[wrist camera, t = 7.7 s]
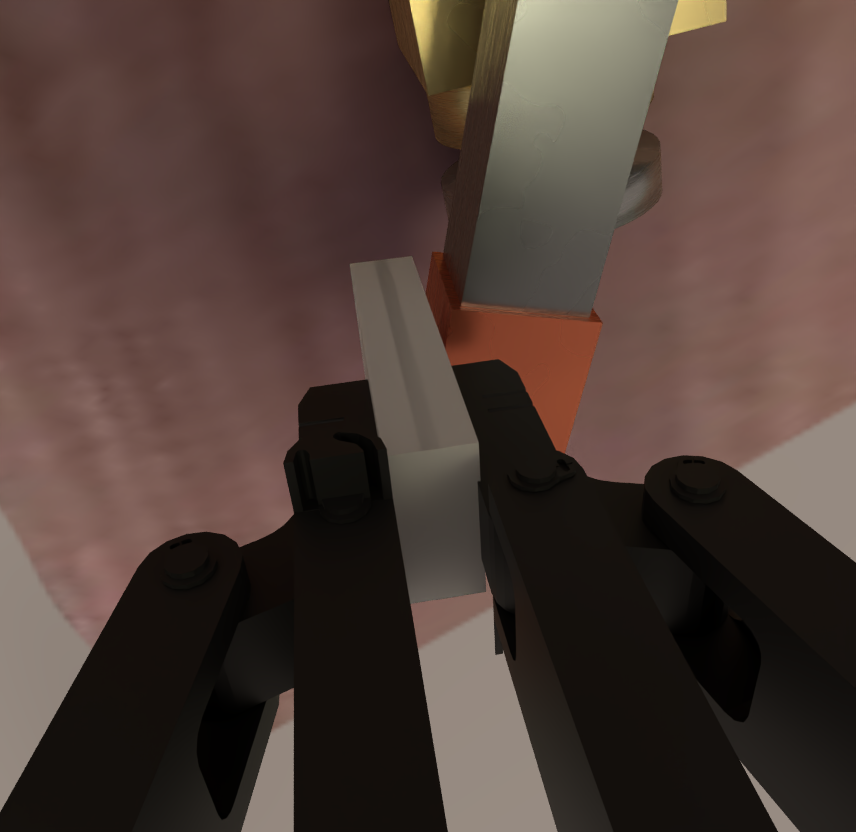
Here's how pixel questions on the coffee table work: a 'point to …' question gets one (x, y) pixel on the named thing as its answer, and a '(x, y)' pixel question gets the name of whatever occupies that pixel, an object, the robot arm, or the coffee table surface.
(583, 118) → the lever
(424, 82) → the pipe valve
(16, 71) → the coffee table surface
